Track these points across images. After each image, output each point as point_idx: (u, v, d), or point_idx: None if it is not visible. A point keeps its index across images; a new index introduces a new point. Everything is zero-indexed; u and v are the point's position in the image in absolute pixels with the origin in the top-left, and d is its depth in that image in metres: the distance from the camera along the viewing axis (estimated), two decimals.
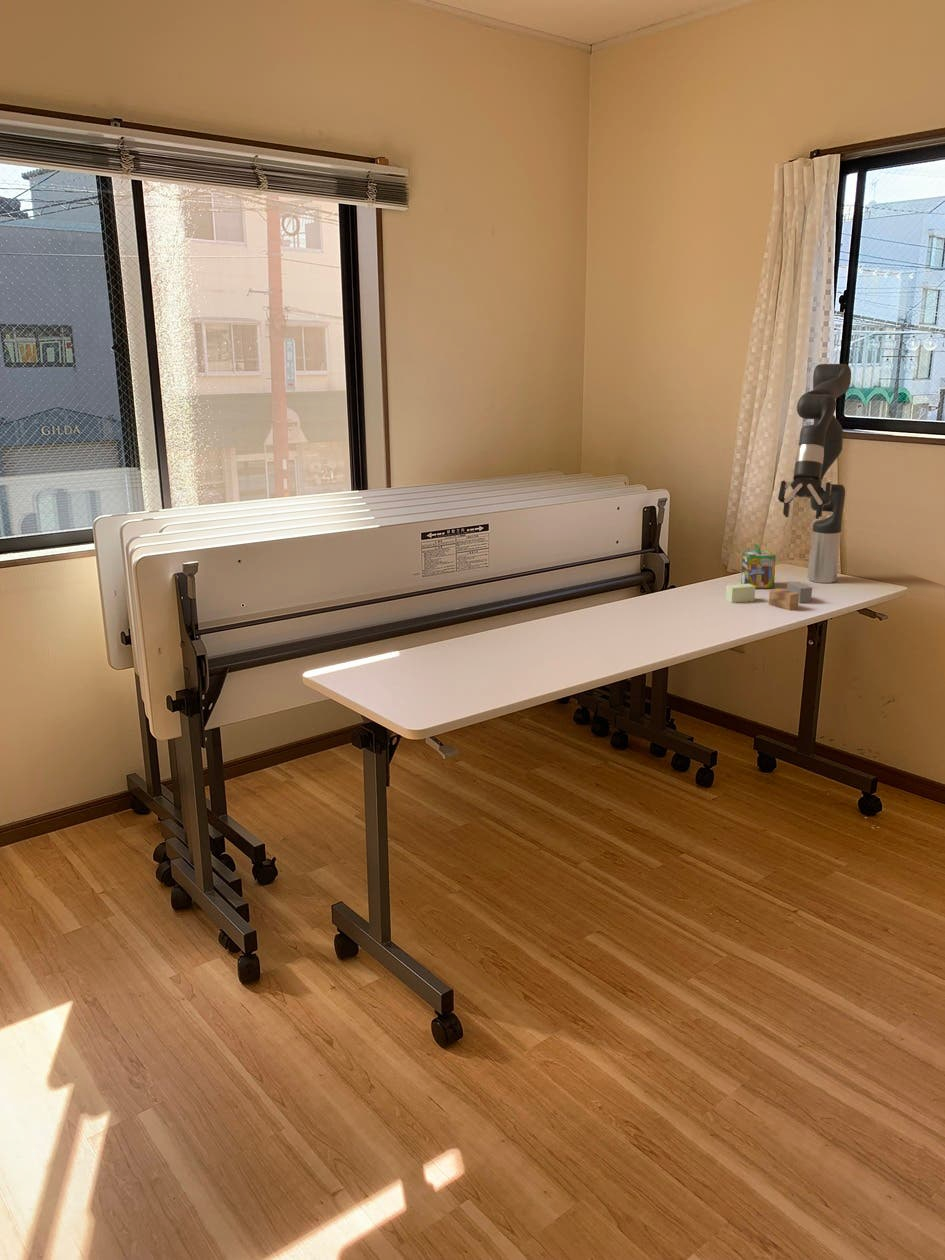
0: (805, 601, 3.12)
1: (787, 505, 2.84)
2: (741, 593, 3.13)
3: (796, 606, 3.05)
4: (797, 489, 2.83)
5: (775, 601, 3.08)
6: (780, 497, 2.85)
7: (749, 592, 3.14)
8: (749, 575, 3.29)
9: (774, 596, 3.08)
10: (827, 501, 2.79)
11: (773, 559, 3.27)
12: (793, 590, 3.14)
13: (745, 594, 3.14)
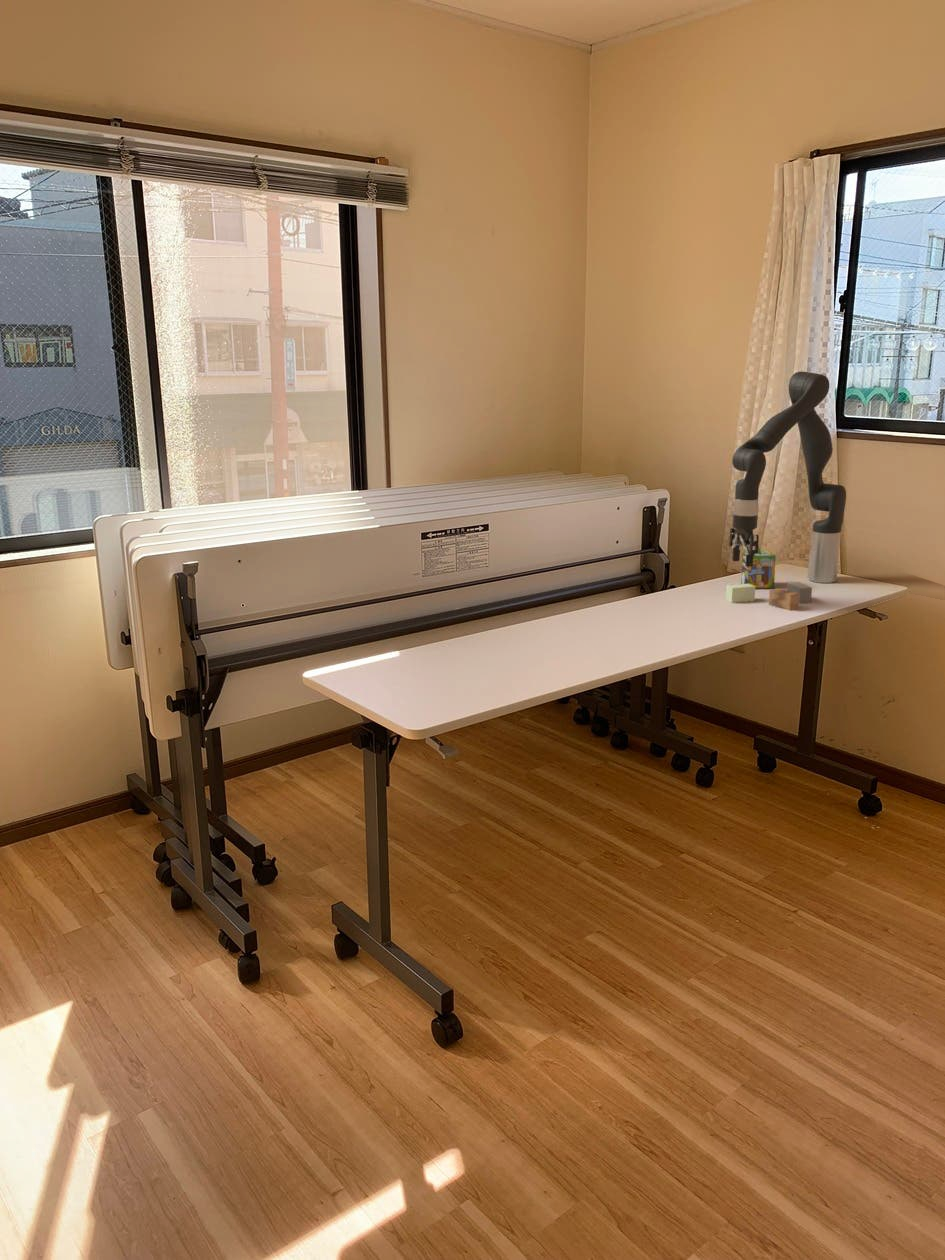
0: (805, 601, 3.12)
1: (733, 551, 3.15)
2: (741, 593, 3.13)
3: (796, 606, 3.05)
4: (735, 538, 3.12)
5: (775, 601, 3.08)
6: (729, 543, 3.17)
7: (749, 592, 3.14)
8: (749, 575, 3.29)
9: (774, 596, 3.08)
10: (750, 552, 3.05)
11: (773, 559, 3.27)
12: (793, 590, 3.14)
13: (745, 594, 3.14)
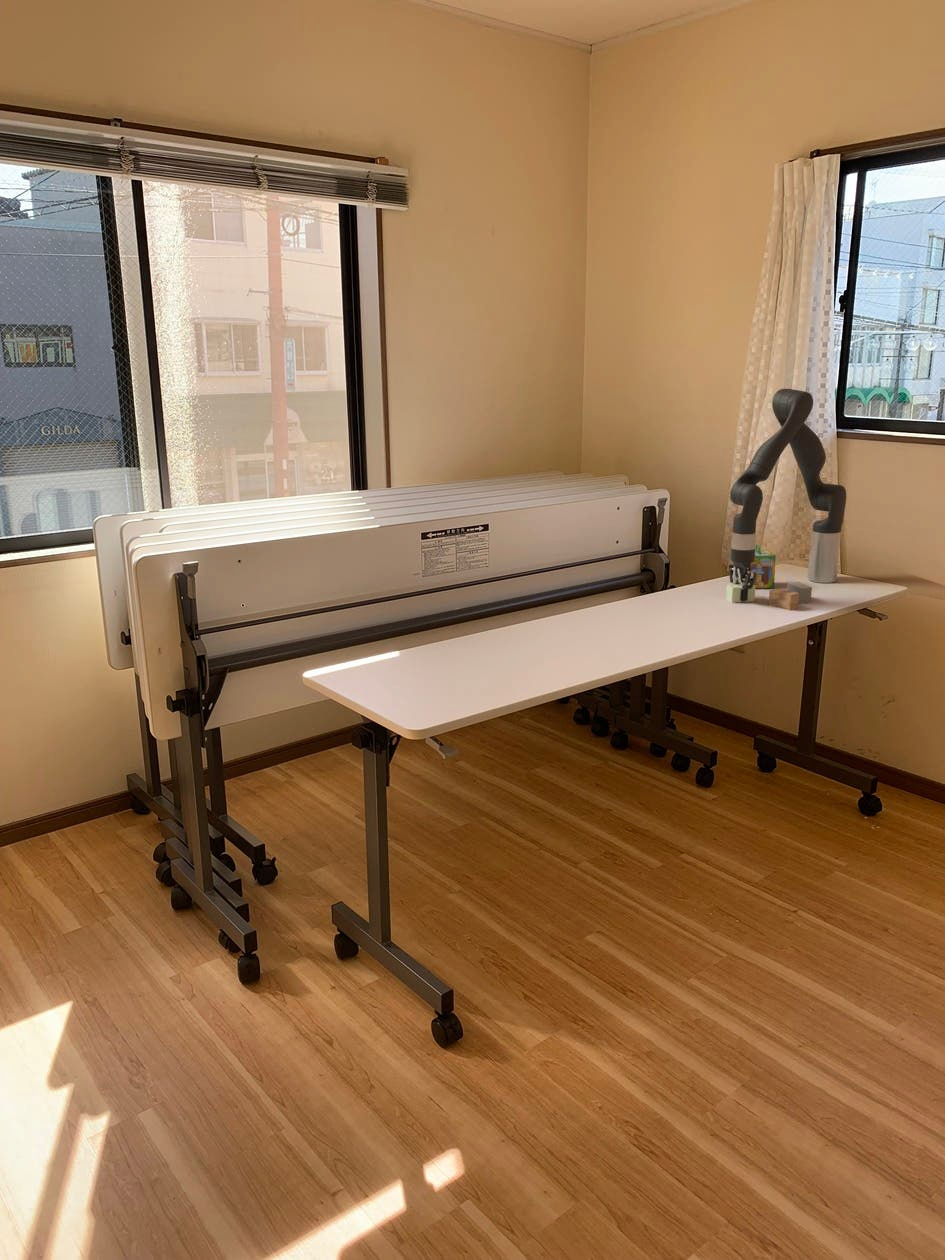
0: (805, 601, 3.12)
1: None
2: None
3: (796, 606, 3.05)
4: (734, 572, 3.15)
5: (775, 601, 3.08)
6: (730, 580, 3.19)
7: (749, 592, 3.14)
8: None
9: (774, 596, 3.08)
10: (744, 588, 3.10)
11: (773, 559, 3.27)
12: (793, 590, 3.14)
13: None
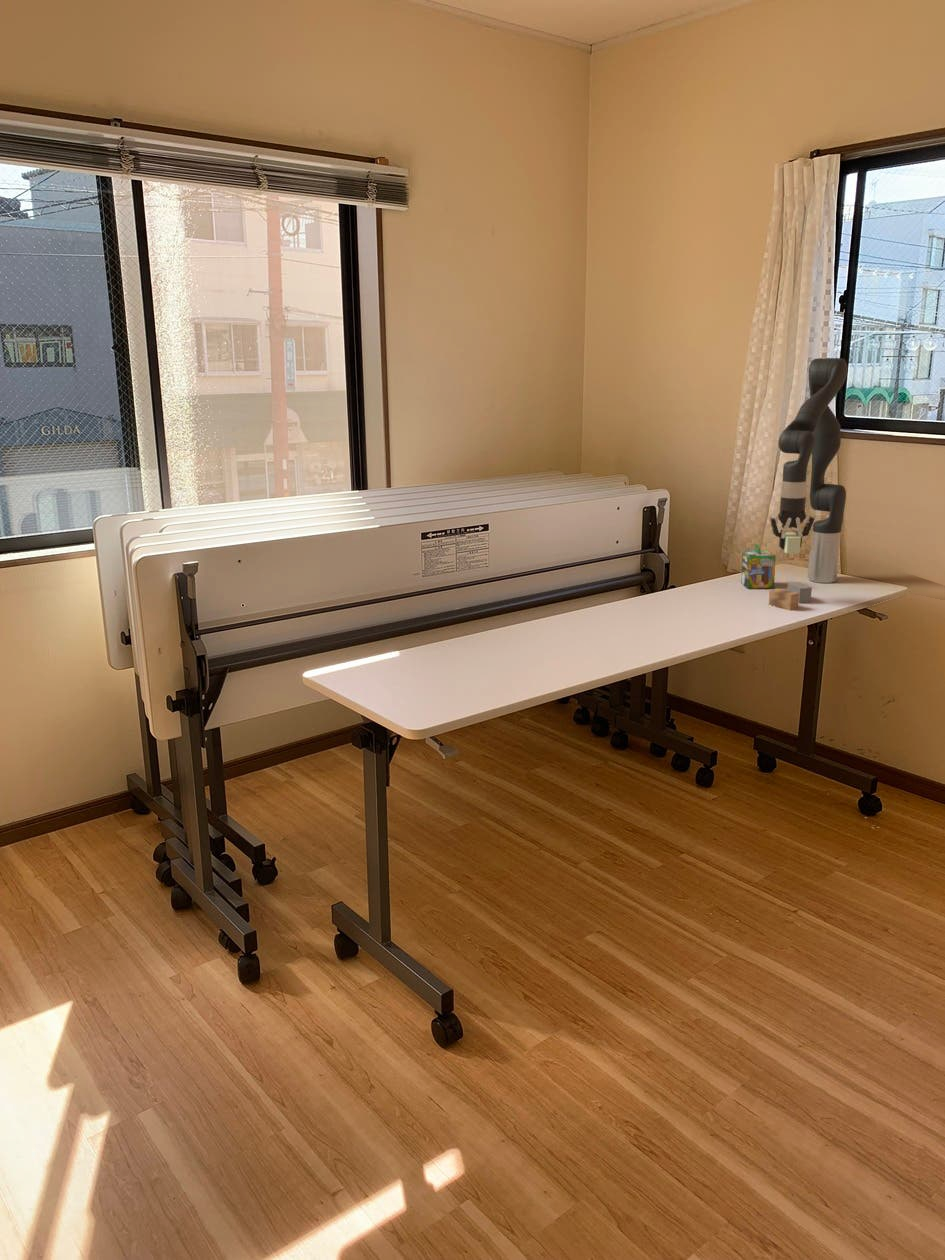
0: (805, 601, 3.12)
1: (784, 540, 3.09)
2: None
3: (796, 606, 3.05)
4: (788, 523, 3.07)
5: (775, 601, 3.08)
6: (777, 533, 3.09)
7: None
8: (749, 575, 3.29)
9: (774, 596, 3.08)
10: (806, 534, 3.08)
11: (773, 559, 3.27)
12: (793, 590, 3.14)
13: None
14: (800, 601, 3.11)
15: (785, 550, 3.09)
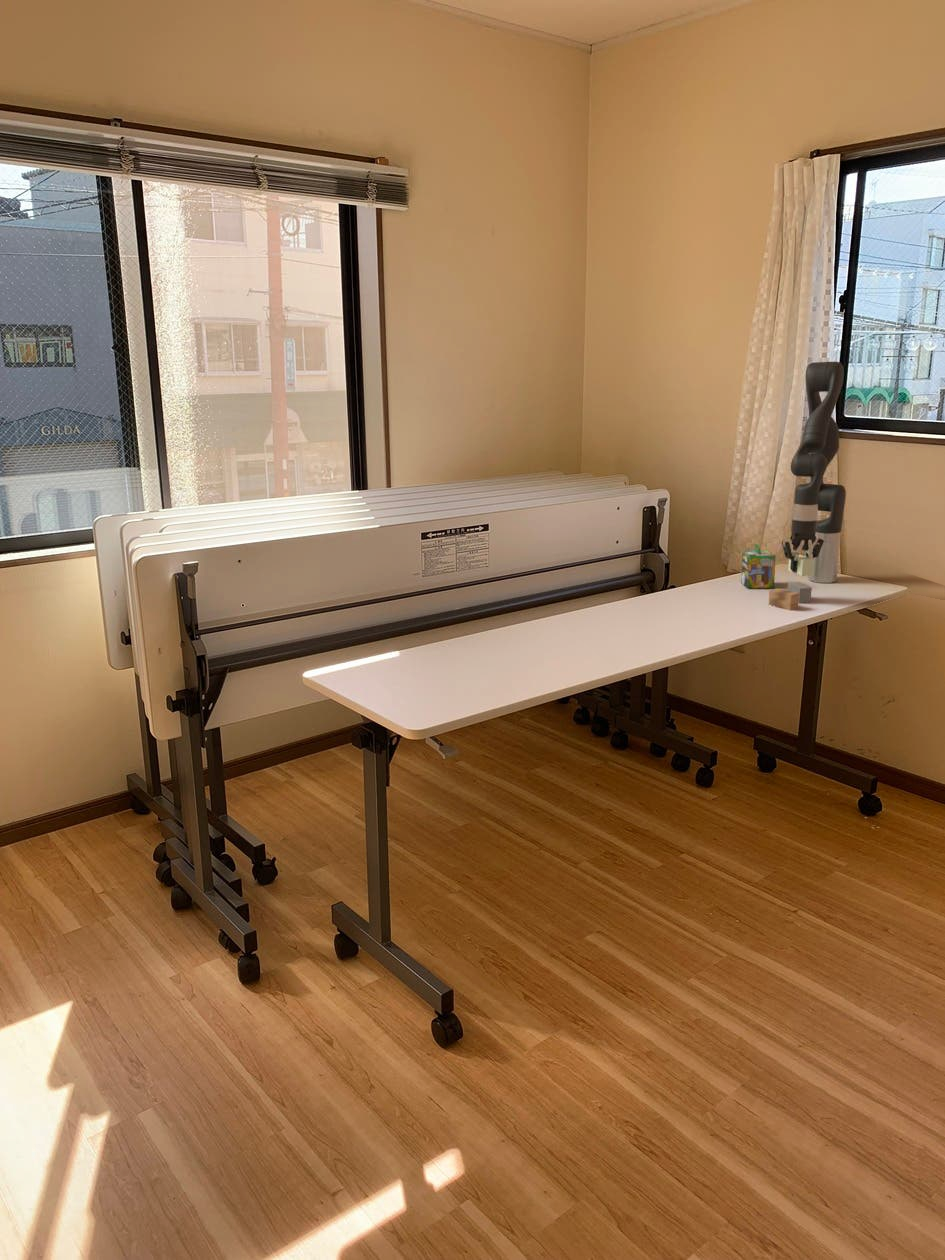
0: (805, 601, 3.12)
1: (796, 562, 3.10)
2: None
3: (796, 606, 3.05)
4: (801, 546, 3.08)
5: (775, 601, 3.08)
6: (790, 556, 3.09)
7: None
8: (749, 575, 3.29)
9: (774, 596, 3.08)
10: (816, 556, 3.11)
11: (773, 559, 3.27)
12: (793, 590, 3.14)
13: None
14: (800, 601, 3.11)
15: (799, 572, 3.10)
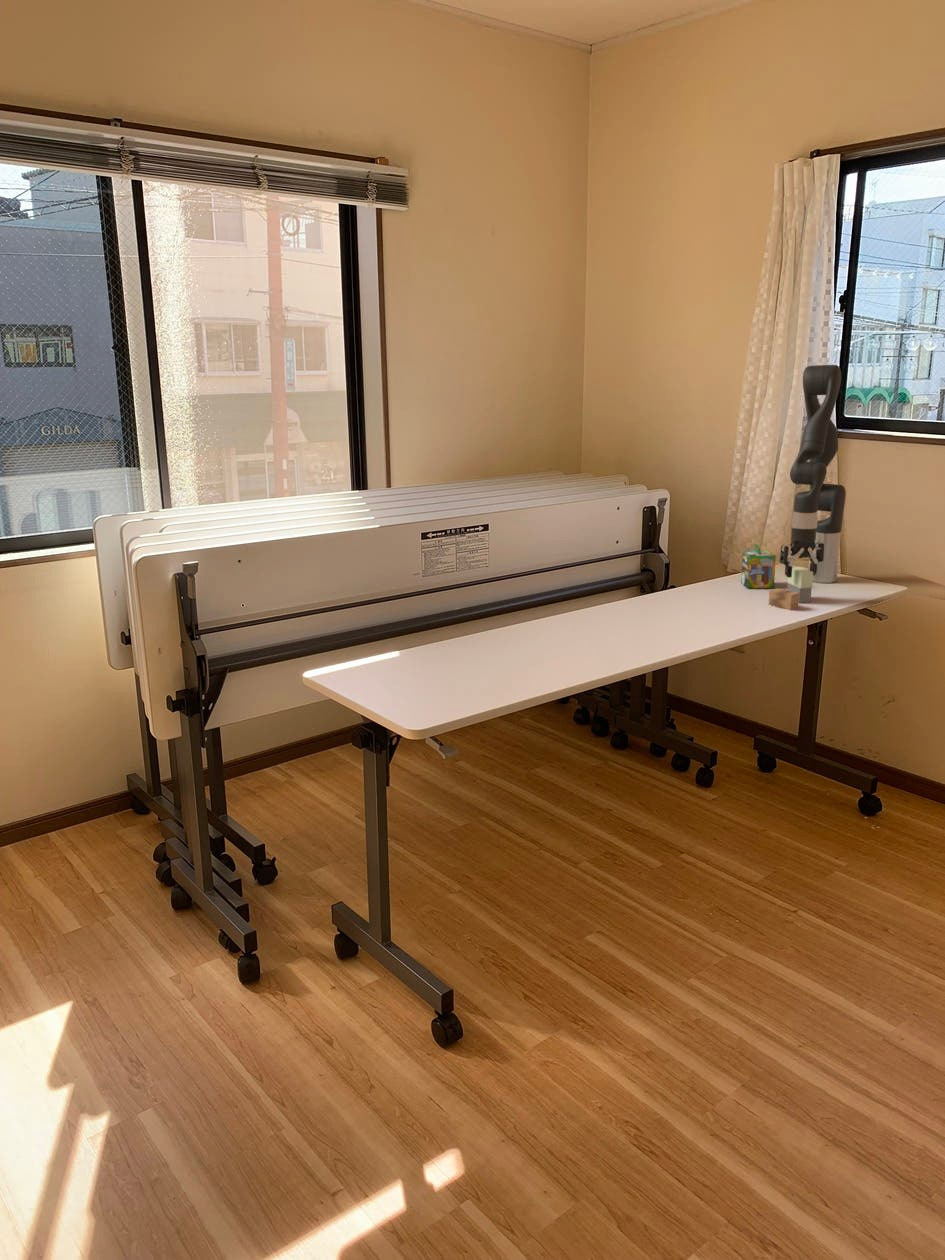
0: (804, 601, 3.12)
1: (791, 568, 3.10)
2: None
3: (796, 606, 3.05)
4: (799, 553, 3.09)
5: (775, 601, 3.07)
6: (785, 561, 3.09)
7: None
8: (749, 575, 3.29)
9: (774, 596, 3.08)
10: (822, 560, 3.12)
11: (773, 559, 3.27)
12: (793, 590, 3.14)
13: None
14: (800, 601, 3.11)
15: (798, 585, 3.11)
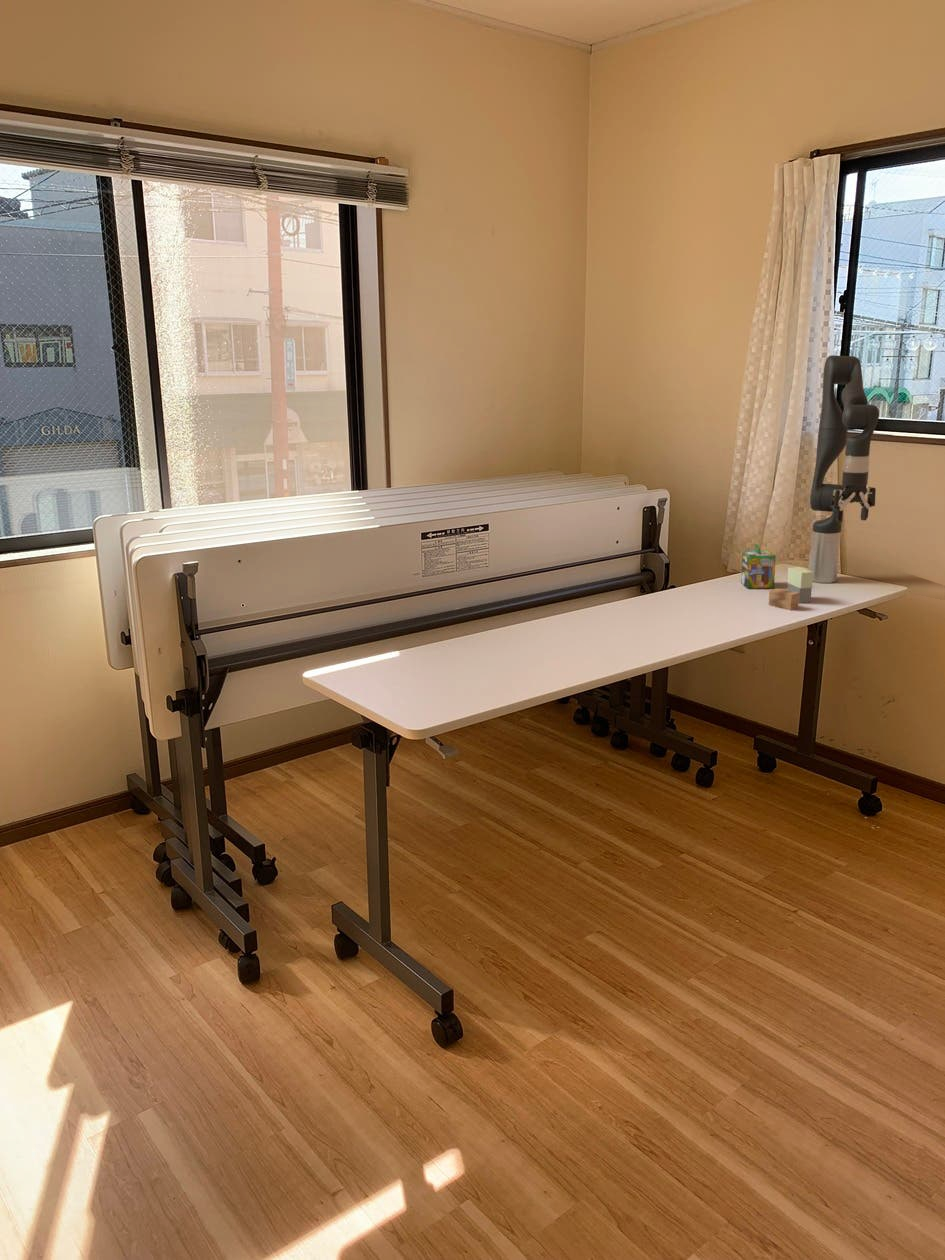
0: (804, 601, 3.12)
1: (842, 512, 3.09)
2: None
3: (796, 606, 3.05)
4: (851, 497, 3.07)
5: (775, 601, 3.07)
6: (836, 506, 3.08)
7: None
8: (749, 575, 3.29)
9: (774, 596, 3.08)
10: (873, 505, 3.10)
11: (773, 559, 3.27)
12: (793, 590, 3.14)
13: None
14: (800, 601, 3.11)
15: (798, 585, 3.11)
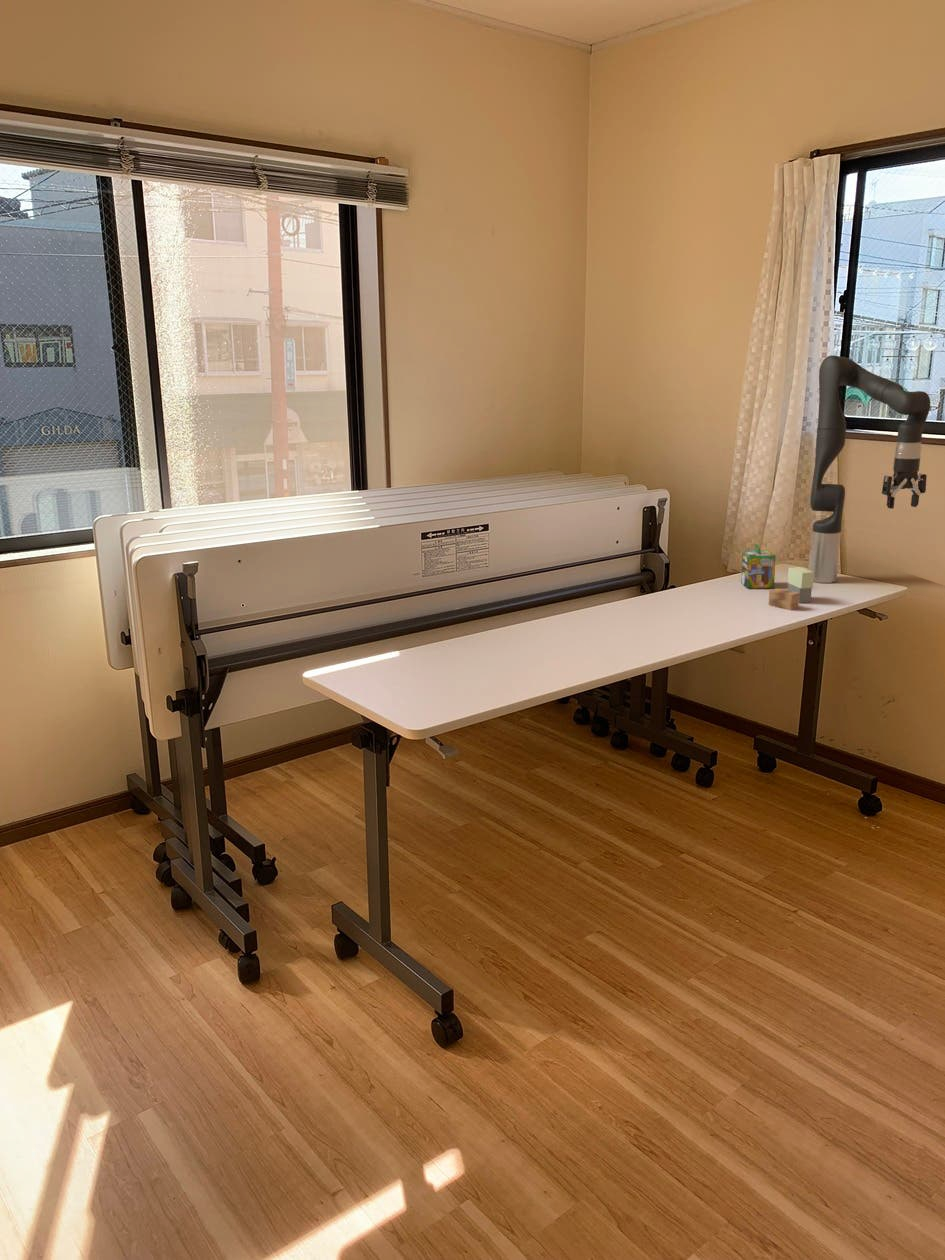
0: (805, 601, 3.11)
1: (893, 498, 3.11)
2: None
3: (796, 606, 3.06)
4: (902, 484, 3.10)
5: (775, 601, 3.07)
6: (888, 492, 3.10)
7: None
8: (749, 575, 3.29)
9: (774, 596, 3.07)
10: (924, 491, 3.13)
11: (773, 559, 3.27)
12: (793, 590, 3.14)
13: None
14: (800, 601, 3.11)
15: (798, 585, 3.11)
